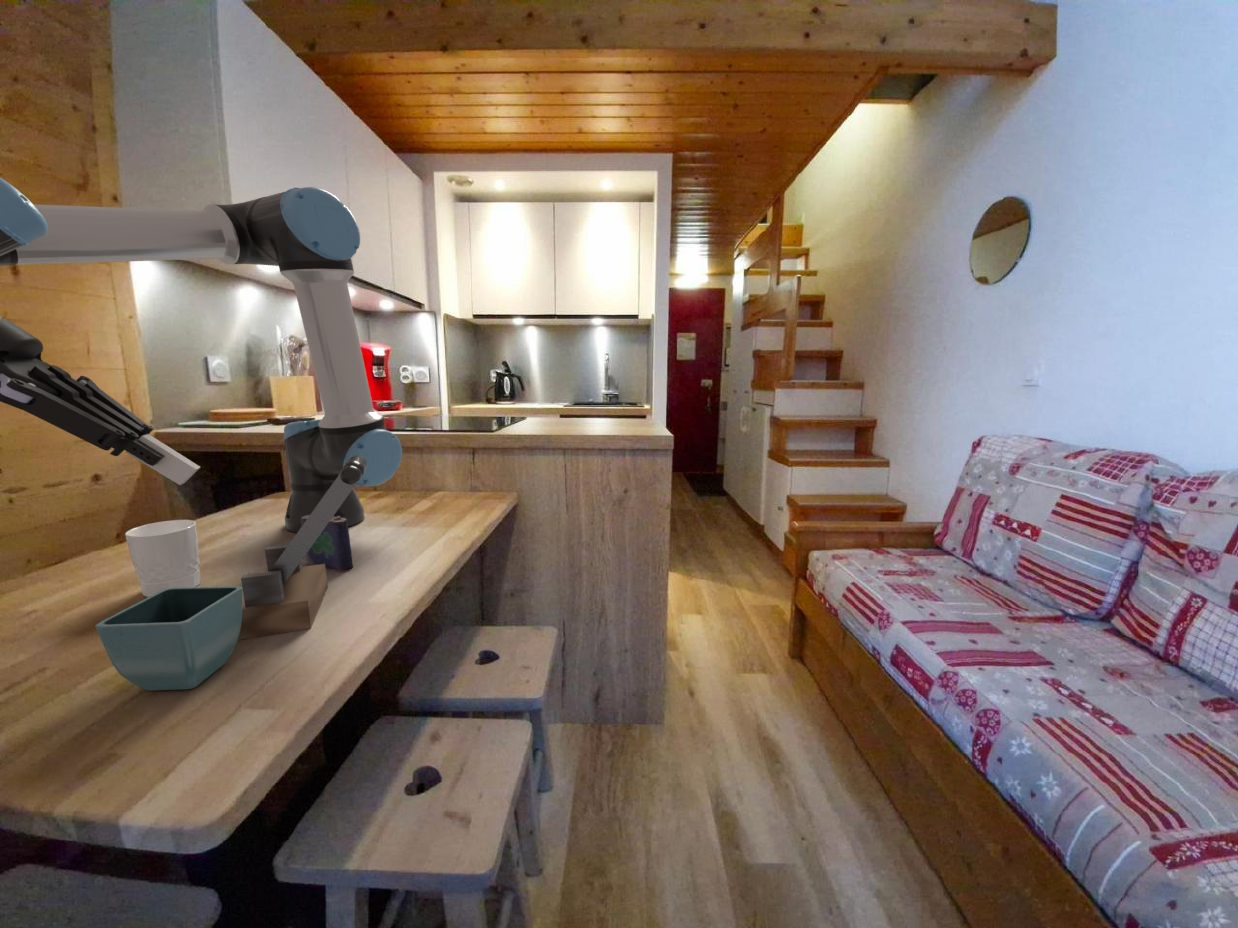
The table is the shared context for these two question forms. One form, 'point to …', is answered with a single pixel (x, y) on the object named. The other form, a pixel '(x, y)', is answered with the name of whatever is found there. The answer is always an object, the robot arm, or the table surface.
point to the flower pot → (174, 636)
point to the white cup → (165, 555)
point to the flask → (331, 546)
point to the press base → (280, 598)
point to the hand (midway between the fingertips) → (190, 475)
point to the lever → (320, 516)
